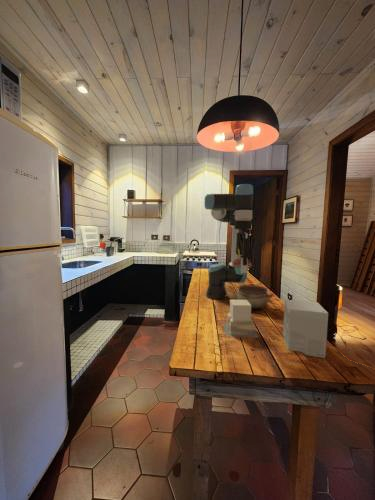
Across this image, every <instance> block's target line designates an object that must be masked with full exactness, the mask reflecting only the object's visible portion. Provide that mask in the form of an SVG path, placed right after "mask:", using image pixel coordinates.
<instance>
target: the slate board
mask: <svg viewBox="0 0 375 500" xmlns="http://www.w3.org/2000/svg"><path fill="white" fill-rule="evenodd" d="M222 326H223V330H224V332H225V335H226V337H227V338H230V337H231V338H260V336H259V335H258V333H257V332H256V329H253V335H231V334H230V332H229V329H228V326H227V322H222Z"/></svg>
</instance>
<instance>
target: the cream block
mask: <svg viewBox="0 0 375 500" xmlns="http://www.w3.org/2000/svg"><path fill="white" fill-rule="evenodd" d="M229 313H230V316H231V318H232V320H233V321H251V319H252V310H251V304H250V303H249V302H248V301H247V300H237V299H229Z"/></svg>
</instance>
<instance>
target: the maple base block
mask: <svg viewBox="0 0 375 500" xmlns="http://www.w3.org/2000/svg"><path fill="white" fill-rule="evenodd" d="M226 323H227V326H228V329H229V332H230V334H231V335H253V329H254V326H255V323H254V320H253V319H252V318H251V321H233V320H232V318H231V316H230V312H227V313H226ZM254 330H255V329H254Z"/></svg>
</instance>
